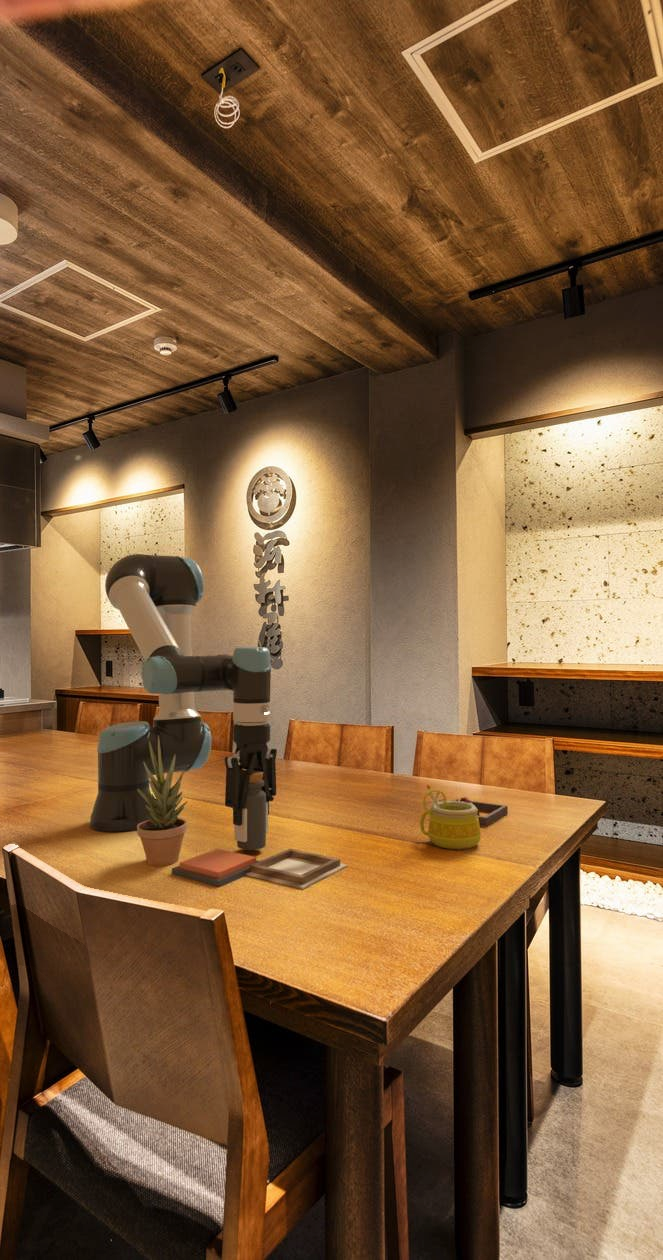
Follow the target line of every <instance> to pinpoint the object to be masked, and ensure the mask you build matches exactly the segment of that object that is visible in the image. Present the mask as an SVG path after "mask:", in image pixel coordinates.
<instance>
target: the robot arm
mask: <svg viewBox="0 0 663 1260" xmlns="http://www.w3.org/2000/svg"><path fill="white" fill-rule="evenodd" d="M204 582H205V581H204V576H203V573H202V570H201V567H200V566H199V565H198V563H197V562H196V561H195V560H194V559H192V558H188V557H181V556H178V555H175V556H173V555H155V554H142V553H135V554H134V553H133V554H129V555H126V556H124V557H122V558H120V559H118V560H117V561H116V562H115V563H114V564H113V565H112V567H110V569H109V571H108V572H107V575H106V577H105V582H104V583H105V584H104V586H105V587H104V588H105V589H104V590H105V593H106V596H107V599H108V600H109V602H110V604H111V605H112V607H113V608H115V609H116V610H117V611H119V612H120V614H121V616H122V618H123V620H124V623H125V624H126V626H127V628H128V629H129V633H131V636H132V639H133V640H134V642H135V644H136V645H137V648H138V650H139V652H140V653H141V655H142V657H143V660H144V661H143V664H142V666H141V680H142V685H143V688H144V689H145V691H146V692H147V693H149V694H152V695H155V694H158V705H159V706H158V707H159V708H158V713H157V714H156V715H155V717H154V718H152V719H153V726H151V725H150V723H149V722H148V721H144V720H141V721H140V720H137V721H129V722H122V723H118V724H113V725H111V726H107V727H105V728H104V729H102V730H101V731H100V732H99V734H98V739H97V740H98V742H97V749H96V752H97V789H98V790H97V795H96V798H95V801H94V805H93V808H92V812H91V813H90V818H89V820H90V821H89V822H90V823H89V825H90V828H92V829H93V830H95V831H101V832H110V833H111V832H113V833H114V832H127V831H128V832H129V831H135V830H136V831H137V825H138V824H140V823H142V822H145V821H148V820H149V818H148V816H149V817H151V818H152V816H151V814H150V811H149V810H148V809H147V808H146V805H147V806H148V807H149V808H150V805H149V804H148V803H147V802H146V801H145V800H144V798H143V797H142V796H141V795H140V793H139V792H138V789H139V790H140V791H141V792H142V793H143V792H145V793H146V794H147V795H149V796H151V797H152V793H151V789H150V788H151V787H150V783H149V780H150V778H149V776H148V774H147V772H146V769H145V766H144V763H143V761H144V762H145V764H146V765H147V767H148V769H149V770H150V772H151V773H152V775H153V776H156V774H155V770H154V767H153V763H152V758H151V753H150V748H149V741H150V743H151V746H152V749H153V752H154V755H155V758H156V761H157V764H158V768H159V763H158V735H159V740H160V749H161V759H162V764H163V772H164V775H165V774H167V772H168V771H169V768H170V766H171V762H172V759H173V758H174V755H175V765H174V771H173V773H179V772H180V773H182V772H183V770H184V773H187V772H188V771H192V770H193V771H194V770H197V769H201V768H202V767H203V766H204V765H205V764H206V763H207V760H208V759H209V756H210V753H211V750H212V749H211V748H212V734H211V733H212V732H211V730H210V727H209V725H208V724H207V723H205V722H204V721H202V715H201V714H200V713H199V712H198V711H197V710H196V708H195V694H194V693H197V692H198V693H201V692H219V691H222V692H223V691H228V692H229V691H231V692H233V694H232V695H233V696H232V697H233V698H232V699H233V700H232V701H233V702H232V703H233V704H232V705H233V706H232V720H233V722H234V725H232V741H233V742H234V743H235V744H236V747H235V751H234V754H232V755H231V756H226V757H225V758H224V764H225V768H226V770H225V771H226V773H225V789H224V790H225V792H224V793H225V795H224V797H225V798H224V806H225V807H227V808H230V809H232V823H233V825H234V834H233V835H234V841H236V842H237V841H241V842H247V808H244V805H245V800H246V795H247V790H248V784H249V779H250V775H252V773H253V770H257V771H262V772H263V777H262V780H264V786H263V787H261V790H262V791H264V792H265V793H266V835H267V834H268V833H269V815H270V814H269V813H270V802H273V801H274V798H275V797H276V795H277V771H276V759H277V752H278V750H277V749H276V748H270V747H268V743H269V742H270V741H271V725H270V723H269V721H270V720H271V683H272V682H271V680H272V675H271V673H272V672H271V671H272V670H271V669H272V665H271V652H270V649H269V648H267V647H265V646H263V647H261V646H260V647H259V646H245V647H244V646H240V647H239V646H238V647H235V649H234V650H233V655H230V654H217V655H193V652H192V651H193V650H192V648H193V646H192V627H191V625H192V624H191V614H192V613H193V612H194V611H195V610H196V609H197V605H196V604H198V603H200V601H201V600H202V598H203V596H204V594H203V592H204V591H205V584H204ZM143 794H144V793H143ZM149 801H150V800H149ZM238 801H239V802H238ZM150 802H151V801H150ZM151 803H152V802H151ZM152 804H153V803H152ZM152 819H153V818H152Z"/></svg>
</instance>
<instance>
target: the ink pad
mask: <svg viewBox="0 0 663 1260" xmlns="http://www.w3.org/2000/svg"><path fill="white" fill-rule="evenodd" d="M259 861H260V860H257V856H252V855H248V854H244V853H239V852H236V851H235V852H234V851H232V850H231V851H230V850H225V849H221V848H215V849H213V850H210V851H207V852H204V853H202V854H199V855H196V856H194V857H191V858H188V859H185V860H182V861H180V862H179V865H178V866H177V865H176V866H174V867H172V868H171V874H172V875H175V876H179V877H182V878H186V879H189V880H193V881H197V882H201V883H204V884H209V885H211V886H215V887H220V888H221V887H223V886H224V885H228V884H230V883H231V882H234V881H235V880H239V879H241V878H243V877H244V876H245V877H246V876H247V875H246V873H249V872H250V865H252V864H254V863H257V862H259Z"/></svg>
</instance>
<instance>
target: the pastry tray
mask: <svg viewBox="0 0 663 1260" xmlns="http://www.w3.org/2000/svg"><path fill="white" fill-rule="evenodd" d="M460 799H461V798H455V799H453V800H451V801H458V800H460ZM471 802H472V804H474V805H475V806H476V808H477V809H478V810H479V812H484V813H485V812H487V813H489V814H487V815H485V816H483V815H480V816H478V819H479V825H480V827H481V826H482V827H486V828H487V827H489V826H491V825H492V824H494V823H495V822H497V821H499V820H500V819H502V818H503V817H505V816H507V815H508V814H509V812H508V811H509V810H508V809H509V808H508V805H506V804H498V803H492V802H491V803H490V802H483V801H476V800H471Z"/></svg>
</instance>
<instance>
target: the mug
mask: <svg viewBox="0 0 663 1260" xmlns="http://www.w3.org/2000/svg"><path fill="white" fill-rule="evenodd" d="M426 789H427V790H428V791H427V792H426V794H425V795H424V797H423V799H422V805H423V808H424V809H425V811H423V812H422V814H421V816H420V817H421V818H420V821H419V827H420V832H421V833H422V834H424V835H425V836H428V839H429V841H430V842H431V843H432V844H434V845H435V846H437V847H440V848H443V849H448V850H449V849H450V850H465V849H470V848H473V847H476V846H477V845H478V844H479V843H480V840H481V826H480V825H479V819H478V815H477V811H478V809H477V808H476V807H475V806H474V805H472V804H470V803H466V802H458V801H452V800H447V797H446V795H445V794H444V792H443V791H442V790H440V789H431V785H429V784H426ZM433 792H436V795H435V794H434V793H433ZM440 794H441V795H442V796H443V799H439V800H438V798H439V795H440ZM428 795H429V797H430V799H432V801H426V799H427V797H428ZM428 804H432V805H431V806H430V809H428V808H427V807H426V805H428ZM427 815H429V822H428V830H426V829H425V824H424V822H425V818H426V816H427Z"/></svg>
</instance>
